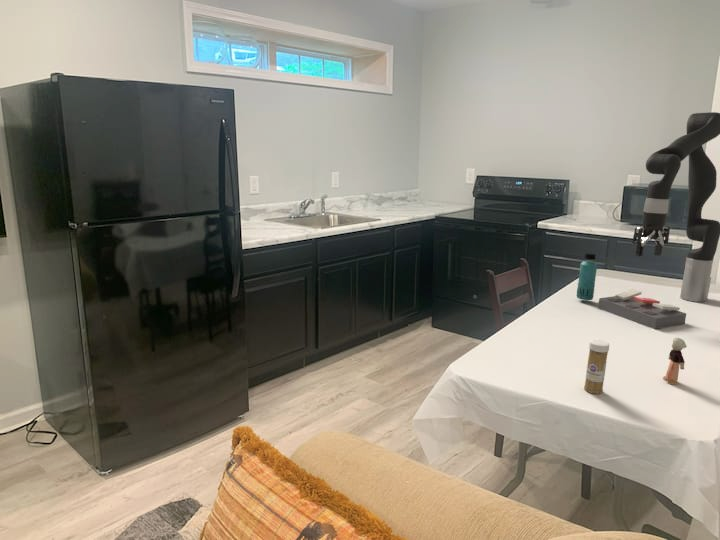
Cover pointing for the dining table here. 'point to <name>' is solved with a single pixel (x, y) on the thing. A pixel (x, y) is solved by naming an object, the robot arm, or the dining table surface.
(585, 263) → the beverage bottle
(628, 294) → the grey rocker near bottle
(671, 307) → the grey rocker far end
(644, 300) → the block
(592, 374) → the sprinkles bottle
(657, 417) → the dining table surface
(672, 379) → the grandmother figurine
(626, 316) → the power strip
